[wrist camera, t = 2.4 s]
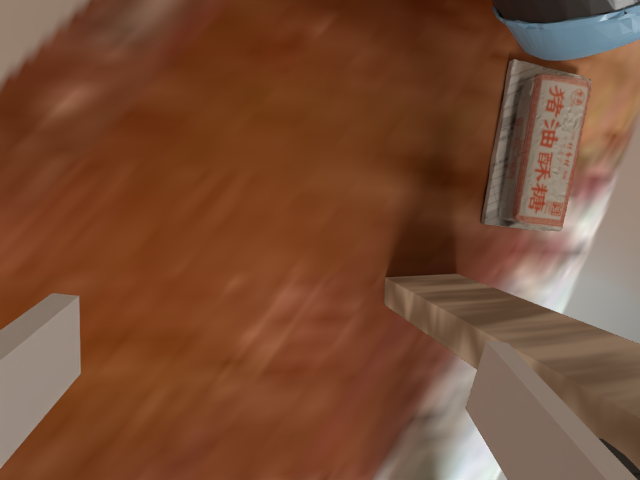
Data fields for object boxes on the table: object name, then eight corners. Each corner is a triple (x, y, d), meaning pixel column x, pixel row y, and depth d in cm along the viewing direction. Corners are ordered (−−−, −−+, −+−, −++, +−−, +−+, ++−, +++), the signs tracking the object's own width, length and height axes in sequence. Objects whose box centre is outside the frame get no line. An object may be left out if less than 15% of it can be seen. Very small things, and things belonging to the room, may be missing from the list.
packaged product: (579, 236, 44) (507, 228, 41) (543, 231, 49) (476, 223, 45) (614, 68, 42) (541, 46, 39) (573, 79, 46) (505, 60, 43)
